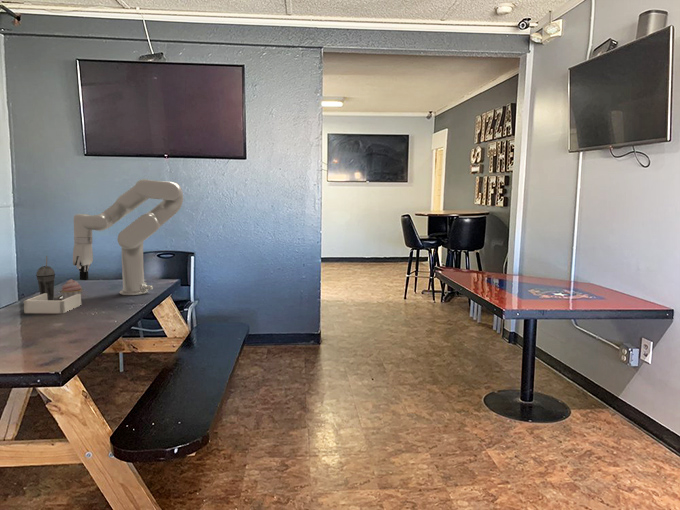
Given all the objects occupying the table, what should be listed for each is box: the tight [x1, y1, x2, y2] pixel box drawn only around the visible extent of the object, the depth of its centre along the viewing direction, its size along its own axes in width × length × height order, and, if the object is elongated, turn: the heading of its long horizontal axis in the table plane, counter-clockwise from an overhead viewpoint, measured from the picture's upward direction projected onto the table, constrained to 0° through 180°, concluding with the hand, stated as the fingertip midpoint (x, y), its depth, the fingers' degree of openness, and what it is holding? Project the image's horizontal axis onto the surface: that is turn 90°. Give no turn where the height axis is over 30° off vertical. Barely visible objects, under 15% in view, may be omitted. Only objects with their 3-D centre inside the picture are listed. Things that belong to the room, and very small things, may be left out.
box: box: [23, 293, 82, 314], centre depth 203 cm, size 15×14×5 cm
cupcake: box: [59, 278, 84, 300], centre depth 217 cm, size 9×9×10 cm
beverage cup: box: [35, 255, 56, 300], centre depth 216 cm, size 7×7×20 cm
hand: (84, 279), depth 229 cm, fingers closed
